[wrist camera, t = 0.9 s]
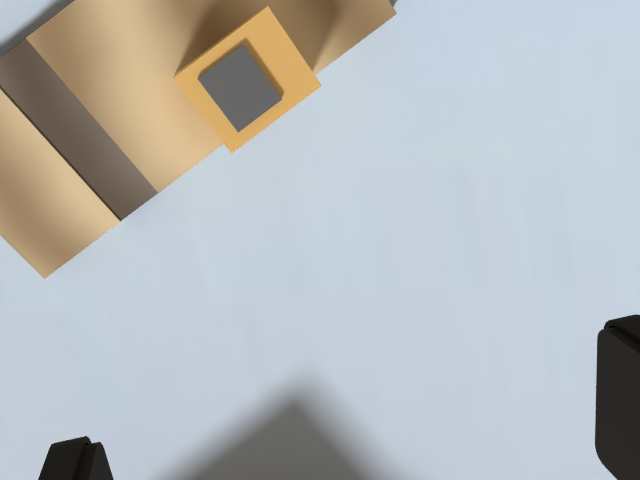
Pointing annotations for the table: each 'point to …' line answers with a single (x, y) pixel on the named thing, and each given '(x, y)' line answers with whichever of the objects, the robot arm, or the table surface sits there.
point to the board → (125, 107)
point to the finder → (247, 79)
